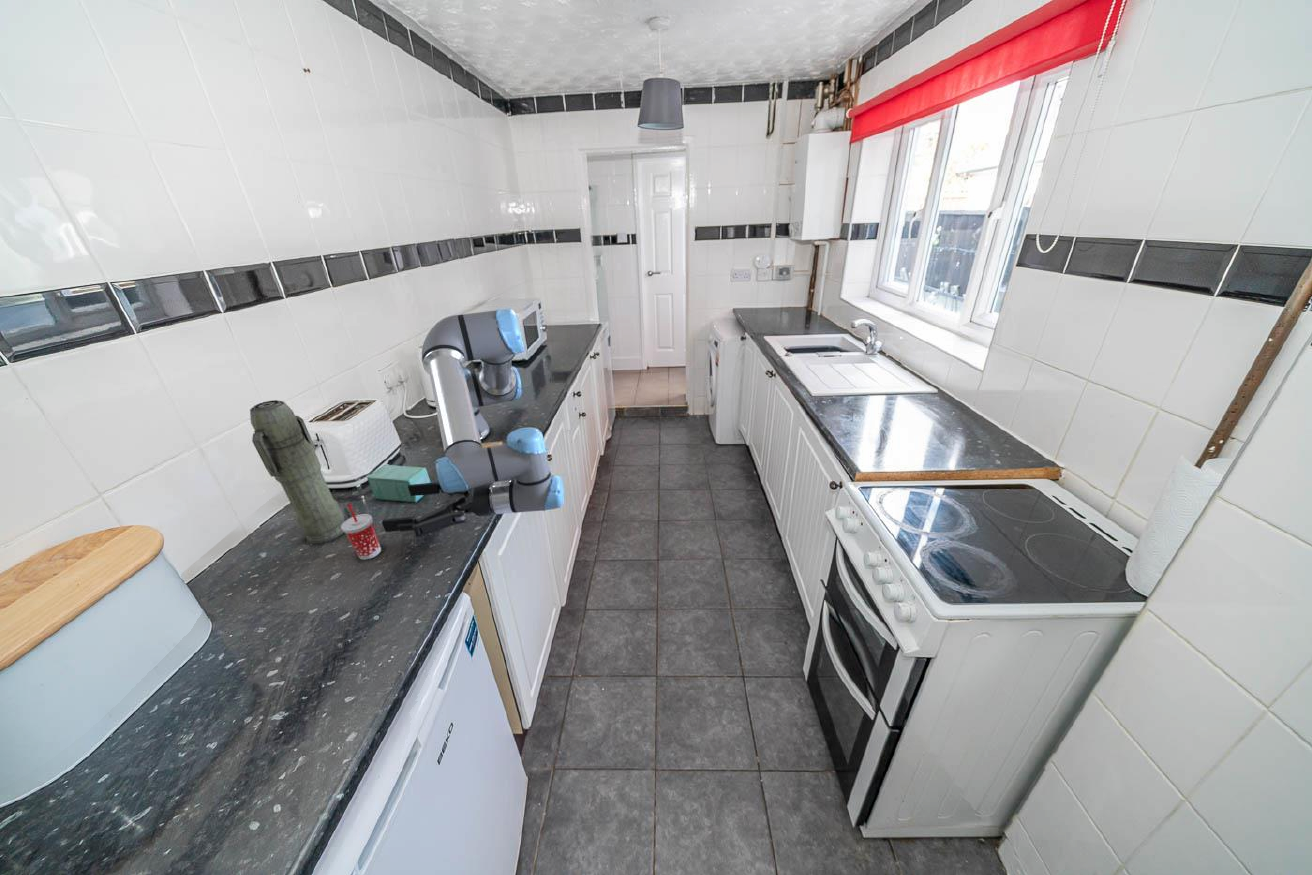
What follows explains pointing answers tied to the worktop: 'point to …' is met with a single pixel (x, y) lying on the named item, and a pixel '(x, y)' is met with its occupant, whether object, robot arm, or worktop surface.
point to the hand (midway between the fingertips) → (397, 507)
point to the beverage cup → (362, 535)
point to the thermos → (296, 469)
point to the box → (397, 482)
